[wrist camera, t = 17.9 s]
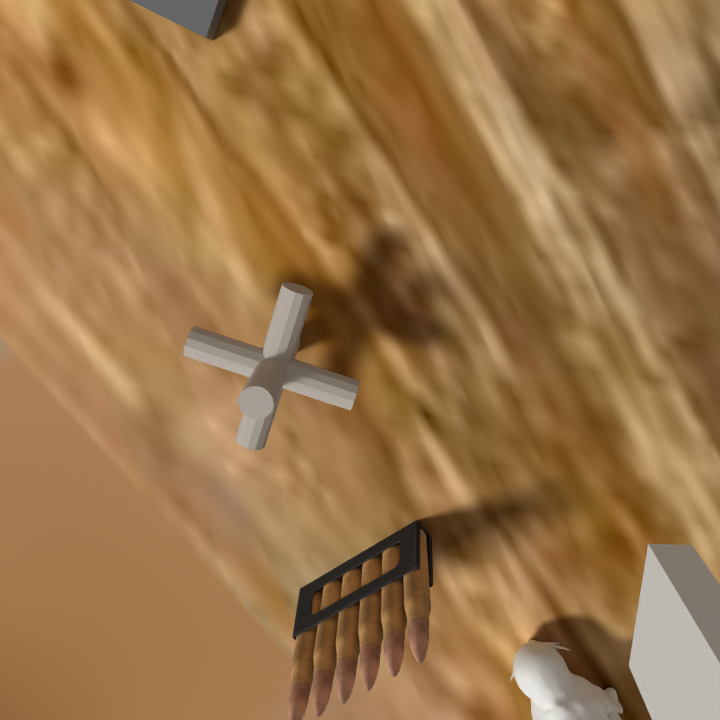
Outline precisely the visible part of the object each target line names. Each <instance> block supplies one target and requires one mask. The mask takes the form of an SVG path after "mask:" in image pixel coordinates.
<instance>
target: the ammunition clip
mask: <svg viewBox="0 0 720 720" xmlns="http://www.w3.org/2000/svg"><path fill="white" fill-rule="evenodd" d="M432 586H433V562H432V538H431V536H430V535H429V534H428V533H427V531H426V530H425V529H424V527H423V526H422V525H421V524H420V522H419V521H414V522H413V523H411V524H409V525H408V526H406V527H404V528H402V529H401V530H399V531H397V532H396V533H394V534H392V535H391V536H389V537H387V538H386V539H384V540H382V541H380V542H379V543H377V544H375V545H374V546H372V547H370V548H369V549H367V550H365V551H363V552H362V553H360V554H358V555H357V556H355V557H353V558H352V559H350V560H348V561H347V562H345V563H343V564H341V565H340V566H338V567H336V568H335V569H333V570H331V571H330V572H328V573H326V574H324V575H323V576H321V577H319V578H318V579H316V580H314V581H313V582H311V583H309V584H308V585H306V586H304V587H302V588H301V589H300V592H299V599H298V605H297V611H296V618H295V624H294V630H293V638H294V639H295V640H296V637H297V640H296V645H295V651H294V656H293V661H292V667H291V677H292V680H291V688H290V689H291V692H290V697H289V719H290V720H302V718H303V716H304V714H305V711H306V707H307V704H308V700H309V694H310V691H311V686H312V682H313V686H312V698H313V706H314V711H315V714H316V716H317V717H320V716H321V715H322V714H323V712H324V710H325V708H326V706H327V704H328V701H329V698H330V694H331V690H332V683H333V679H334V673H335V669H336V666H337V669H336V683H337V691H338V696H339V699H340V701H341V703H342V704H345V703H346V702H347V700H348V699H349V697H350V694H351V692H352V689H353V686H354V682H355V677H356V668H357V663H358V656H359V653H360V670H361V676H362V680H363V684H364V686H365V688H366V690H368V691H369V690H371V688H372V687H373V685H374V683H375V680H376V677H377V674H378V669H379V663H380V653H381V643H382V640H383V638H384V652H385V660H386V664H387V667H388V670H389V672H390V674H391V676H392V677H396V675H397V674H398V672H399V670H400V667H401V664H402V660H403V654H404V640H405V629H406V625H407V623H408V632H409V640H410V646H411V649H412V652H413V655H414V657H415V659H416V660H417V662H418V663H422V662H423V660H424V658H425V656H426V652H427V649H428V642H429V615H430V610H431V603H430V587H432Z"/></svg>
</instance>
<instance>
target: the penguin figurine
mask: <svg viewBox="0 0 720 720" xmlns="http://www.w3.org/2000/svg"><path fill="white" fill-rule="evenodd" d="M554 644H560V643H554V642H545V643H544V642H537V641H535V640H530V641H528V642H527V643H525V644H524V645H522V646H521V647H520V649H519V650H518V651H517V653H516V655H515V659H514V662H513V674H512V677H511V679H512V678H513V676H515V679H516V682H517V684H518V686H519V687H520V689H521V690H522V691H523V692H524V694H526V695H527V696H528V697H529V698H530V699H531V713H532V720H621V718H620V716H619V714H618V713H620V714H622V713H623V708H622V706H621V704H620V703H619V702H618V696H617V693H616V691H615V690H614V689H613V688H606V689H605V690H602V689H601V688H600V687H599V686H596V685H593V684H592V683H590V682H589V681H588V680H586V679H585V678H583V677H581V676H578V675H574V674H572V673H571V672H570V671H569V670H568V668H567V665H566V663H565V661H564V659H563V658H562V656H561V655H560V654H559V653H558V651H556V650H555V649H556V648H558V649H564V650H570V649H567V648H564V647H561V646H558V645H554ZM554 648H555V649H554ZM558 649H557V650H558ZM572 651H573V650H572ZM562 653H563V652H562ZM510 681H511V680H510Z"/></svg>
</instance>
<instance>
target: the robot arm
mask: <svg viewBox="0 0 720 720" xmlns="http://www.w3.org/2000/svg"><path fill="white" fill-rule="evenodd" d="M629 667H630V670H631V672H632V674H633V677H634V679H635V681H636V684H637V686H638V688H639V691H640V693H641V695H642V698H643V700H644V702H645V705H646V707H647V709H648V712H649V714H650V716H651V719H652V720H720V584H719V583H718V582H717V580H716V579H715V577H714V576H713V574H712V573H711V572H710V570H709V569H708V567H707V566H706V564H705V563H704V562H703V560H702V559H701V557H700V556H699V554H698V553H697V552H696V550H695V549H694V547H693V546H692V545H662V544H648V549H647V556H646V562H645V568H644V574H643V580H642V587H641V593H640V599H639V605H638V611H637V618H636V624H635V630H634V636H633V642H632V648H631V655H630V661H629Z"/></svg>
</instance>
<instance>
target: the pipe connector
mask: <svg viewBox="0 0 720 720" xmlns="http://www.w3.org/2000/svg"><path fill="white" fill-rule="evenodd" d="M312 297H313V292H312V291H311V290H310V289H308V288H306V287H304V286H301V285H298V284H295V283H289V282H285V283H282V286H281V289H280V292H279V296H278V299H277V302H276V306H275V309H274V312H273V316H272V319H271V322H270V326H269V329H268V332H267V335H266V339H265V342H264V345H263V349H262V348H259V347H256V346H253V345H250V344H247V343H244V342H241V341H238V340H235V339H232V338H229V337H226V336H223V335H220V334H217V333H214V332H211V331H208V330H205V329H202V328H199V327H196V326H193V328H192V329H191V331H190V333H189V335H188V338H187V341H186V344H185V348H184V356H186V357H189V358H192V359H195V360H198V361H201V362H204V363H207V364H211V365H214V366H217V367H220V368H223V369H226V370H229V371H232V372H235V373H238V374H241V375H244V376H247V377H250V378H249V380H248V381H247V383H246V385H245V386H244V388H243V390H242V392H241V393H240V396H239V399H238V404H239V407H240V410H241V411H242V412H243V415H242V418H241V422H240V425H239V428H238V432H237V435H236V442H237V443H238V444H239V445H240V446H242V447H244V448H246V449H250V450H261V449H262V448H264V447H265V444H266V441H267V438H268V435H269V432H270V428H271V425H272V422H273V419H274V416H275V413H276V410H277V407H278V403H279V400H280V397H281V394H282V391H283V388H284V389H287V390H290V391H293V392H296V393H299V394H302V395H305V396H308V397H311V398H314V399H317V400H320V401H323V402H326V403H329V404H332V405H335V406H338V407H341V408H344V409H347V410H351V408H352V406H353V403H354V400H355V397H356V394H357V391H358V388H359V384H360V381H359V380H356V379H353V378H350V377H347V376H344V375H341V374H338V373H335V372H332V371H329V370H326V369H323V368H320V367H317V366H314V365H311V364H308V363H305V362H302V361H299V360H296V359H295V356H296V354H297V352H298V349H299V347H300V335H301V332H302V328H303V325H304V322H305V319H306V316H307V313H308V310H309V307H310V303H311V300H312Z"/></svg>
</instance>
